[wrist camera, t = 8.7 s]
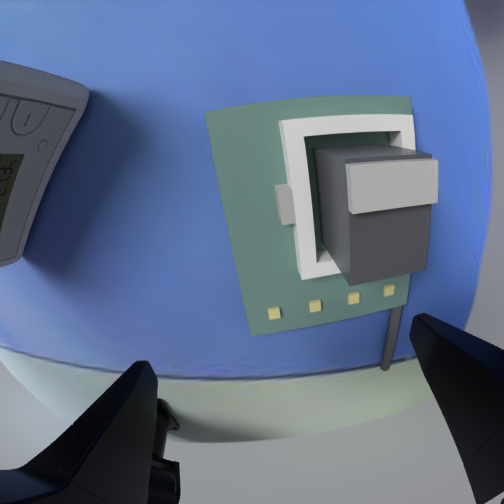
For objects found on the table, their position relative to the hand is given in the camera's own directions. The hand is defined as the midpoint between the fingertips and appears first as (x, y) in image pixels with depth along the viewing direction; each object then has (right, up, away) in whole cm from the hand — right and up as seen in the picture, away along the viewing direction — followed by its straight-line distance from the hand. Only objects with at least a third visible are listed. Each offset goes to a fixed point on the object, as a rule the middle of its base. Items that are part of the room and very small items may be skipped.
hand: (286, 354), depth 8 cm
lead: (+12, -3, +15) cm, 19 cm away
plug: (+5, +7, +8) cm, 12 cm away
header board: (+4, +6, +10) cm, 12 cm away
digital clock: (-18, +10, +8) cm, 22 cm away
